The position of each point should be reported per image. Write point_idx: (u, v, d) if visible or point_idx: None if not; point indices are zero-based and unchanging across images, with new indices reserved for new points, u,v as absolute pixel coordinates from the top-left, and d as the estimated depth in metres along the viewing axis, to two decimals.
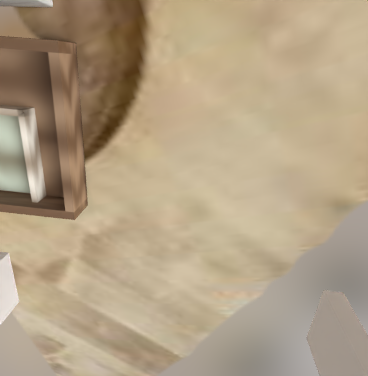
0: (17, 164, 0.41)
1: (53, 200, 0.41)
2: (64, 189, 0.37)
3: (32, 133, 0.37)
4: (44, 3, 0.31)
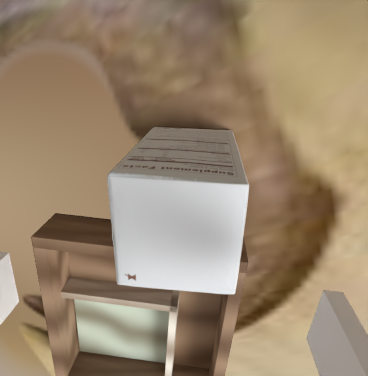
0: (147, 337, 0.36)
1: (185, 375, 0.36)
2: None
3: (176, 319, 0.33)
4: None
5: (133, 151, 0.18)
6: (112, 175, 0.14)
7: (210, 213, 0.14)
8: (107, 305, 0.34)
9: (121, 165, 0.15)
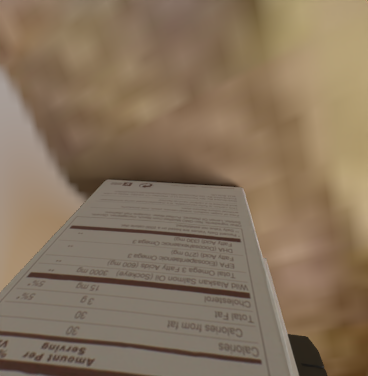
0: None
1: None
2: None
3: None
4: None
5: (6, 295, 0.07)
6: None
7: None
8: None
9: None
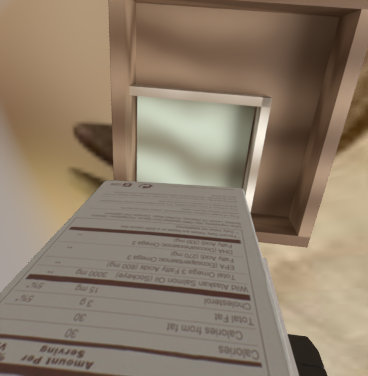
0: (220, 171, 0.30)
1: (263, 219, 0.31)
2: (308, 207, 0.27)
3: None
4: None
5: (4, 297, 0.07)
6: None
7: None
8: (176, 125, 0.29)
9: None
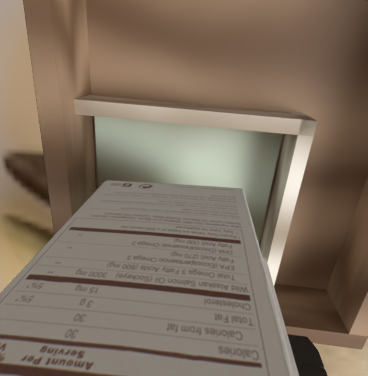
0: None
1: (290, 297, 0.21)
2: None
3: None
4: None
5: (4, 298, 0.07)
6: None
7: None
8: (158, 158, 0.18)
9: None
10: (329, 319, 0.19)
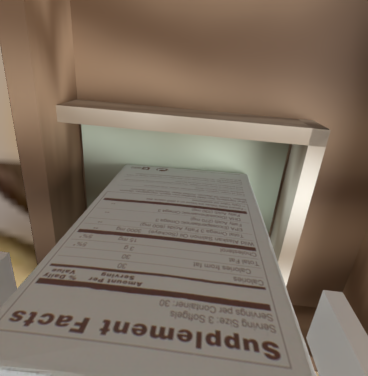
0: None
1: None
2: None
3: None
4: None
5: (64, 243, 0.09)
6: None
7: None
8: None
9: (8, 312, 0.06)
10: None
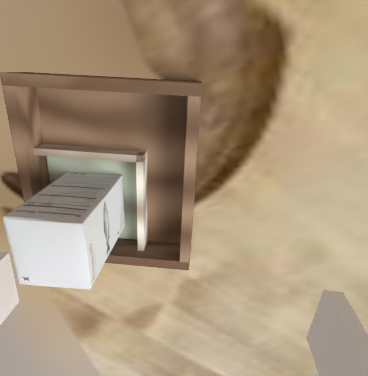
0: None
1: (158, 247, 0.38)
2: (182, 239, 0.34)
3: (145, 178, 0.34)
4: None
5: (32, 197, 0.28)
6: (5, 217, 0.24)
7: (64, 239, 0.24)
8: None
9: (15, 210, 0.25)
10: (173, 256, 0.36)
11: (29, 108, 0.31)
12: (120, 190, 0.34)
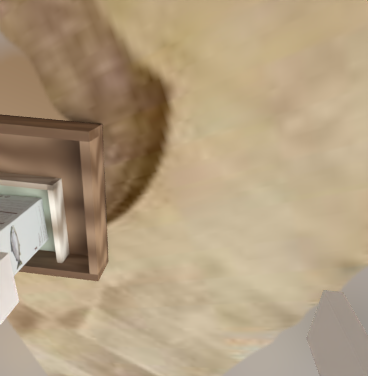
0: None
1: (76, 259, 0.44)
2: (89, 255, 0.40)
3: (59, 202, 0.40)
4: (42, 245, 0.42)
5: None
6: None
7: None
8: None
9: None
10: (86, 268, 0.42)
11: None
12: (38, 212, 0.40)
